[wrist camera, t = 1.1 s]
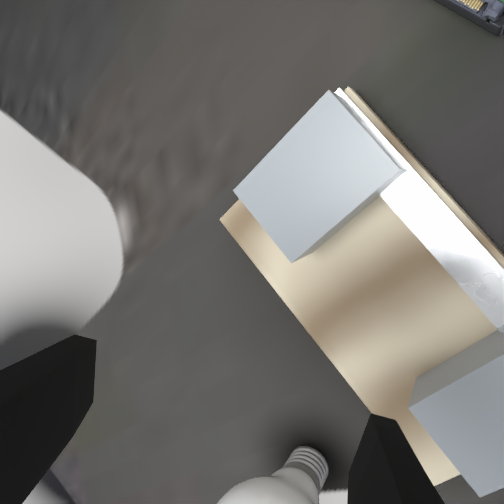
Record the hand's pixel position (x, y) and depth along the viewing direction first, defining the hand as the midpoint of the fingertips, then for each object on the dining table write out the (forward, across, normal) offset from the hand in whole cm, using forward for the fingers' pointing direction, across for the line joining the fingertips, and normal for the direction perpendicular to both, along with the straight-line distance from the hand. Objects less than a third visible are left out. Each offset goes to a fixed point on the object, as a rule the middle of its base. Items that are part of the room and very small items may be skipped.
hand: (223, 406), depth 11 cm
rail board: (+15, -7, +2) cm, 17 cm away
